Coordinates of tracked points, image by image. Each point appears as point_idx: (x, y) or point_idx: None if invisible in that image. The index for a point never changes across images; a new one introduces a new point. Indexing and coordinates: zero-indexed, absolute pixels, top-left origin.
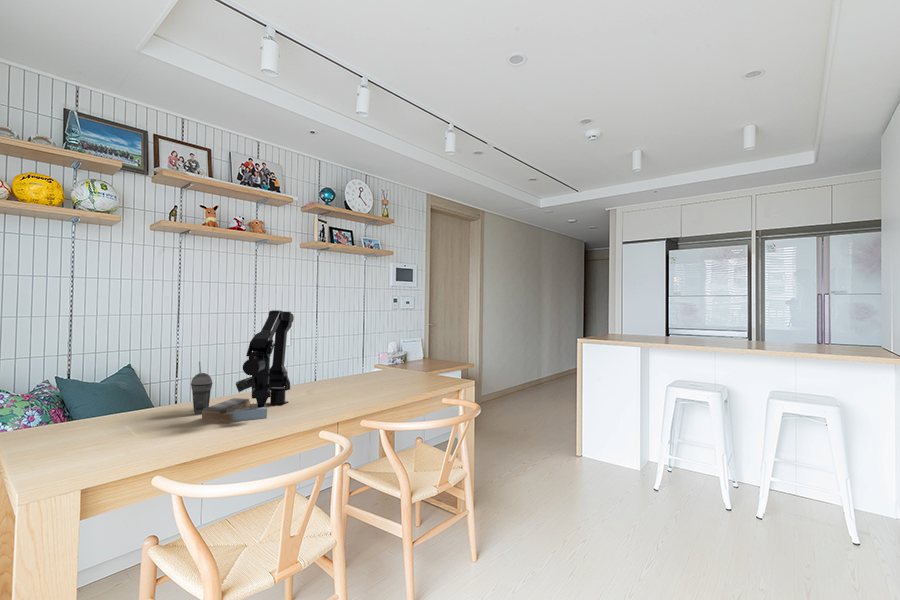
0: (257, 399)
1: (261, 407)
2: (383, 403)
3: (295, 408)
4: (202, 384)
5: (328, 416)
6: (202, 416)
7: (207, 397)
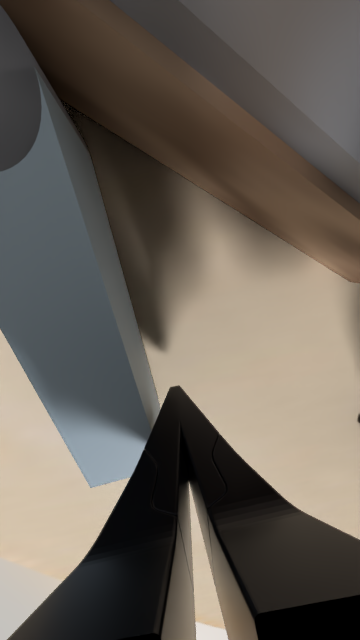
0: (110, 543)
1: (142, 442)
2: None
3: (289, 480)
4: None
5: None
6: None
7: None
